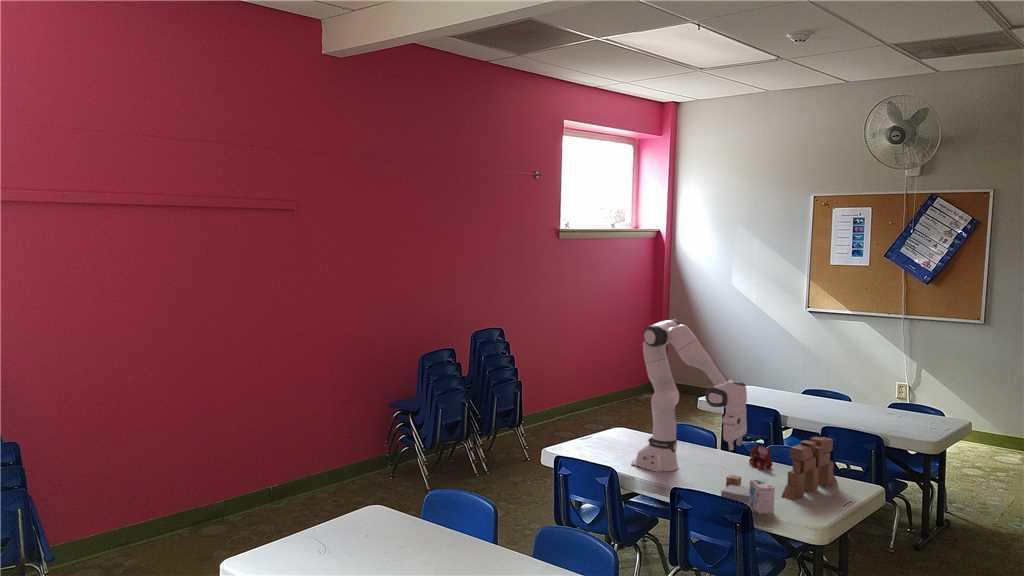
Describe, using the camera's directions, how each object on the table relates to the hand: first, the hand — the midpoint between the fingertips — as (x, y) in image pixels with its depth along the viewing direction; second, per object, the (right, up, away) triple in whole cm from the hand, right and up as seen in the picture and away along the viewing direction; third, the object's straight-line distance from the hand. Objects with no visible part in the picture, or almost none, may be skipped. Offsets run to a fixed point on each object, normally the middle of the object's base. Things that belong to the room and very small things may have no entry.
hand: (735, 447), depth 351 cm
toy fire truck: (+22, -17, +34) cm, 44 cm away
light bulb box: (+4, -20, -26) cm, 33 cm away
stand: (-1, -19, -9) cm, 21 cm away
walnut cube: (0, -18, +1) cm, 18 cm away
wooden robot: (+34, -19, 0) cm, 39 cm away
